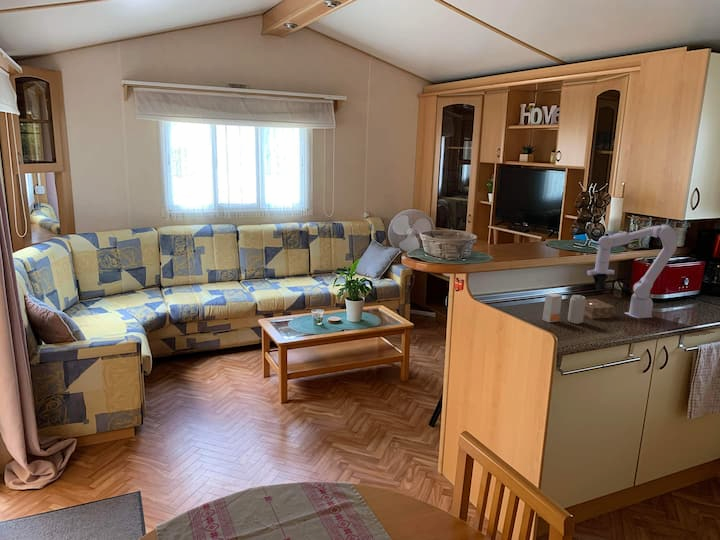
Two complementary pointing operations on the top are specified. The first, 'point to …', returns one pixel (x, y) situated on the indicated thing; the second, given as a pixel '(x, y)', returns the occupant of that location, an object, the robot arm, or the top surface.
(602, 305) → the band block
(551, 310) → the skincare box
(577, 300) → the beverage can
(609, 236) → the robot arm
